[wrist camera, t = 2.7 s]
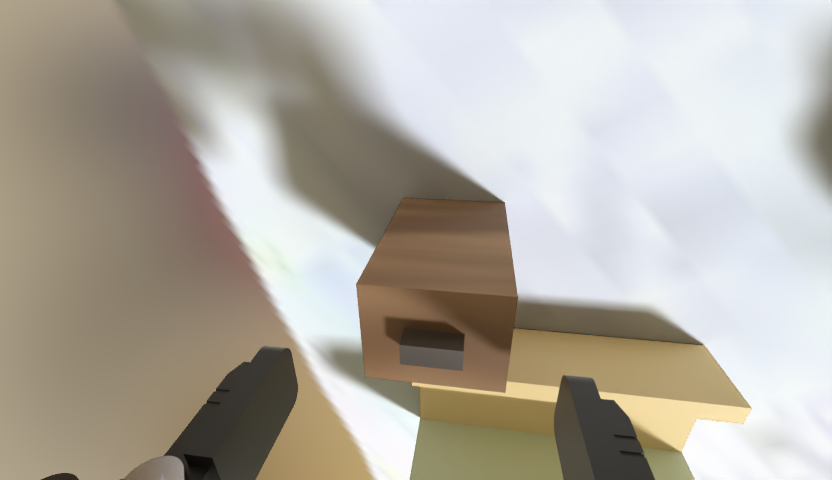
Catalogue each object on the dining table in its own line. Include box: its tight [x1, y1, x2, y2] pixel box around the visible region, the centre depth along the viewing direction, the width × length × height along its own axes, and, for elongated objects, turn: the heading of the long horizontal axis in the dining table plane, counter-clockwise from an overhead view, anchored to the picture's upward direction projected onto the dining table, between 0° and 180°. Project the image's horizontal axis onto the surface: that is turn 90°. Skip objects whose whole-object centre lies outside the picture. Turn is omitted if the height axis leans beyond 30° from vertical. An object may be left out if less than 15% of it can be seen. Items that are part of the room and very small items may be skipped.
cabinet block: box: [356, 198, 518, 393], centre depth 16 cm, size 4×5×9 cm
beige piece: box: [410, 328, 752, 480], centre depth 20 cm, size 8×15×8 cm, turn 91°
